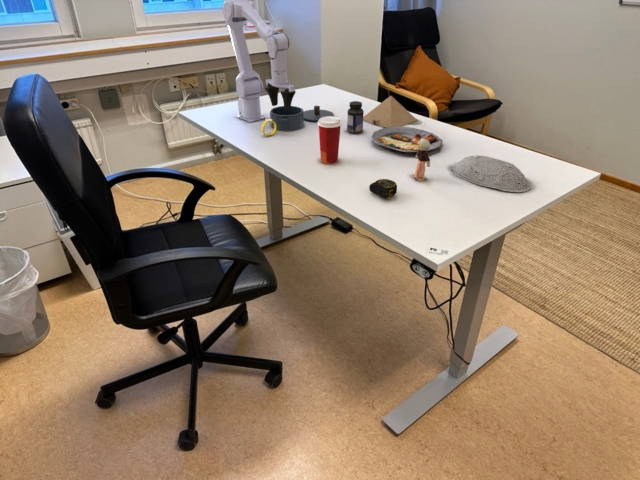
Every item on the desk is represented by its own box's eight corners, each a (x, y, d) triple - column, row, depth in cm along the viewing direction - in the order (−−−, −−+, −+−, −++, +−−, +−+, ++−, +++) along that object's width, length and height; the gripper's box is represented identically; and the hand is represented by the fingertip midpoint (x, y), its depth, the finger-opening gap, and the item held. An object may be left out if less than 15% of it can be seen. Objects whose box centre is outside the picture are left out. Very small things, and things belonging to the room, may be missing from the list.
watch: (264, 137, 167) (263, 122, 164) (260, 135, 169) (259, 120, 166) (278, 134, 170) (277, 119, 167) (274, 132, 172) (273, 117, 169)
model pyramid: (359, 119, 185) (360, 95, 179) (386, 111, 194) (388, 87, 189) (390, 130, 174) (392, 104, 169) (417, 120, 184) (420, 95, 179)
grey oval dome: (517, 196, 126) (523, 173, 123) (440, 174, 142) (444, 153, 139) (539, 185, 136) (545, 163, 133) (465, 165, 152) (469, 145, 149)
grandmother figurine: (406, 175, 140) (411, 136, 133) (416, 172, 141) (421, 134, 134) (422, 184, 134) (428, 144, 127) (432, 182, 136) (438, 142, 129)
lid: (298, 122, 182) (298, 111, 180) (301, 111, 194) (301, 101, 192) (333, 122, 182) (333, 111, 179) (333, 112, 194) (334, 101, 191)
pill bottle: (362, 129, 175) (364, 100, 169) (362, 134, 170) (364, 105, 164) (347, 128, 176) (348, 100, 170) (346, 133, 171) (347, 105, 165)
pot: (267, 133, 171) (266, 117, 168) (274, 118, 187) (273, 103, 184) (301, 133, 171) (301, 118, 168) (305, 118, 186) (304, 104, 183)
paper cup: (343, 157, 151) (344, 117, 144) (336, 166, 145) (337, 124, 138) (321, 155, 153) (321, 114, 146) (314, 163, 147) (313, 121, 140)
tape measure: (367, 193, 129) (368, 181, 127) (385, 187, 132) (386, 176, 130) (383, 202, 125) (384, 190, 123) (401, 196, 128) (402, 184, 126)
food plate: (453, 144, 162) (454, 134, 160) (418, 163, 148) (419, 153, 146) (396, 128, 176) (397, 119, 174) (359, 144, 162) (359, 134, 160)
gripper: (300, 71, 160) (301, 109, 167) (275, 65, 169) (277, 101, 176) (285, 74, 156) (287, 113, 163) (260, 68, 165) (263, 105, 172)
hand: (281, 107), depth 169 cm, fingers open, 7 cm apart
